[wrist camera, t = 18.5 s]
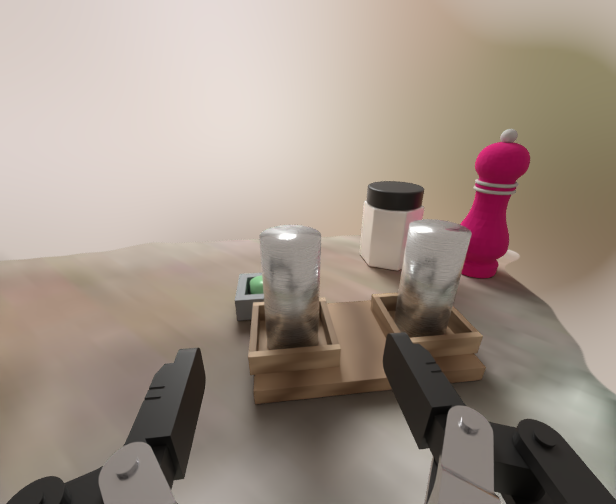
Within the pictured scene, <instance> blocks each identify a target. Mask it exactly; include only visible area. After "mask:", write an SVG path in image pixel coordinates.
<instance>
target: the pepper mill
mask: <svg viewBox="0 0 616 504" xmlns="http://www.w3.org/2000/svg"><path fill="white" fill-rule="evenodd" d="M516 138H517V131H516V130H514V129H508V130H505V131H504V132H503V133H502V135H501V141H502V142H499V143H494V144H491V145H489V146H487V147H486V148H484V149H483V150H482V151H481V152H480V154H479V155H478V157H477V159H476V162H475V169H476V171H477V173H478V175H479V179H476V180H475V182H476V184H475V186H474V190H476V195H475V200H474V202H473V205H472V208H471V210H470V212H469V213H468V215H467V216H466V218H465V219H464V220H463V221H462V223H461V224H460V225H462V226H464V227H466V228H468V229H469V230H470V231H471V233H472V235H471V238H470V242H469V246H468V250H467V254H466V257H465V261H464V265H463V269H462V273H461V274H463V275H466V276H470V277H474V278H490V277H492V276H494V275H495V273H496V271H497V267H498V262H497V260H496V259H498V258H500V257H502V256H503V255H504V254H505V253H506V252H507V250H508V245H509V233H508V228H507V224H506V209H507V205H508V201H509V199H510V197H511V195H512V194H514V193H516V190H515V189H516V187H517V186H518V183H517V182H515V181H516V180H517V179H518V178H519V177H521V176H522V175H523V174H524V173H525V172H526V171H527V169H528V167H529V163H530V155H529V152H528V150H527V149H526V148H525V147H524V146H522V145H520V144H517V143H513V142H514V141H515V140H516Z"/></svg>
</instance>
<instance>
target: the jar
mask: <svg viewBox="0 0 616 504" xmlns="http://www.w3.org/2000/svg"><path fill="white" fill-rule="evenodd" d="M423 194H424V188H423V187H421V186H419V185H416V184H412V183H406V182H395V181H384V182H375V183H371V184H369V185H368V191H367V200H366V201H364V208H363V220H362V232H361V243H360V255H361V256H362V257H363V259H364V260H365V261H366V263H367V264H368V265H369V266H372V267H378V268H384V269H390V270H396V271H398V270H400V269H402V266H403V260H404V254H405V247H406V241H407V235H408V229H409V224H410V223H411V222H413V221H416V220H422V217H423V212H424V206H422V200H423Z"/></svg>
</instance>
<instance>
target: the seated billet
mask: <svg viewBox="0 0 616 504" xmlns="http://www.w3.org/2000/svg"><path fill="white" fill-rule="evenodd" d="M471 235H472V233H471V231H470V230H469V229H468V228H466V227H464V226H462V225H459V224H456V223H452V222H448V221H442V220H432V219H431V220H430V219H425V220H416V221H413V222H411V223H410V224H409V229H408V235H407V241H406V247H405V254H404V260H403V266H402V272H401V279H400V285H399V291H398V297H397V303H396V310H395V316H394V322H395V324H396V325H397V327H398V329H399V330H400V332H405V333H407V335H408V336H409V338H413V337H425V336H436V335H445V333H446V330H447V326H448V322H449V318H450V314H451V311H452V307H453V303H454V299H455V295H456V292H457V288H458V284H459V280H460V276H461V273H462V269H463V265H464V261H465V257H466V254H467V250H468V246H469V242H470V238H471Z"/></svg>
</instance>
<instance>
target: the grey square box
mask: <svg viewBox="0 0 616 504" xmlns="http://www.w3.org/2000/svg"><path fill="white" fill-rule="evenodd" d="M261 275H262V273H248V274H240V276H239V281H238V286H237V291H236V297H235V306H236V314H237V321H240V320H252V309H253V303H254V302H264V294H251V290H250V280H251V279H253V278H254V277H257V276H261Z"/></svg>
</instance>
